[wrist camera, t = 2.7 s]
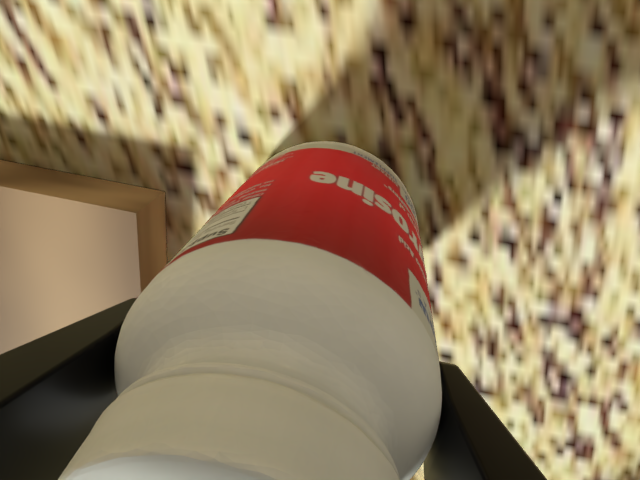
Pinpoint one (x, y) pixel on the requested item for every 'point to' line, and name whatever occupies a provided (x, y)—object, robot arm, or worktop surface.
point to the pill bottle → (281, 337)
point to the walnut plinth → (72, 248)
